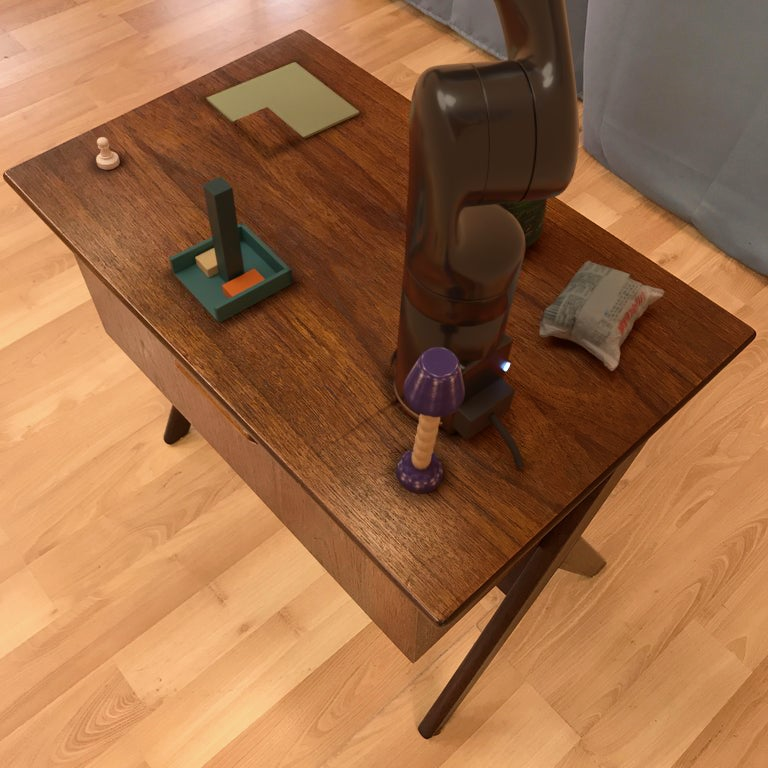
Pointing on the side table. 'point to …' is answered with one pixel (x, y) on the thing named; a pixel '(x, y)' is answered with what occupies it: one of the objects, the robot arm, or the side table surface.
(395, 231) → the side table surface
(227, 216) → the tray with upright handle
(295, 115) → the mat
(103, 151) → the chess pawn
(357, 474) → the side table surface
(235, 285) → the block
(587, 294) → the packaged food
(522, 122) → the robot arm
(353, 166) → the side table surface
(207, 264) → the block
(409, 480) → the toy lamp
